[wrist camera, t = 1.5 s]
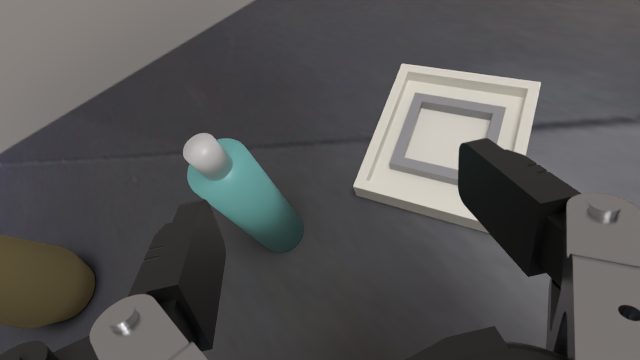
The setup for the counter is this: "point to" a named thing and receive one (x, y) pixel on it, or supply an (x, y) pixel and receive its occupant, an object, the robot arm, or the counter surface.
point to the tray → (441, 137)
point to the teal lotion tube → (241, 191)
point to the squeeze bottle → (41, 283)
